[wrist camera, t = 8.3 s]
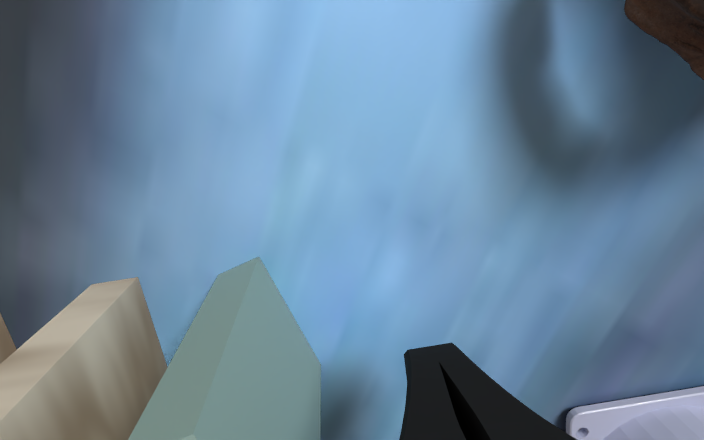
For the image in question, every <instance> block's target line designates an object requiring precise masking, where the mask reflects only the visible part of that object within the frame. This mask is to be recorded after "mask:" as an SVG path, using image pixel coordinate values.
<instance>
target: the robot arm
mask: <svg viewBox="0 0 704 440" xmlns="http://www.w3.org/2000/svg"><path fill="white" fill-rule="evenodd" d="M404 359H405V367H406V375H407V394H406V405H405V412H404V418H403V424H402V430H401V435H400V439H399V440H704V386H702V387H696V388H690V389H684V390H678V391H672V392H666V393H659V394H653V395H647V396H641V397H635V398H629V399H623V400H617V401H611V402H605V403H599V404H593V405H587V406H581V407H576V408H573V409H572V410H570V411H569V413H568V414H567V417H566V432H564V431H562V430H561V429H559V428H558V427H556V426H554V425H553V424H551V423H550V422H548V421H546V420H545V419H543V418H542V417H541V416H539V415H538V414H536V413H535V412H533V411H532V410H531V409H529V408H528V407H527V406H525V405H524V404H523V403H521V402H520V401H519V400H517V399H516V398H515V397H513V396H512V395H511V394H510V393H508V392H507V391H506V390H505V389H504V388H502V387H501V386H500V385H499V384H497V383H496V382H495V381H494V380H493V379H491V378H490V377H489V376H488V375H487V374H486V373H485V372H483V371H482V370H481V369H480V368H479V367H478V366H477V365H476V364H475V363H473V362H472V361H471V360H470V359H469V358H468V357H467V356H466V355H465V354H464V353H463V352H462V351H461V350H460V349H459V348H458V347H457V346H455V345H454V344H453V343H447V344H441V345H435V346H429V347H423V348H416V349H410V350H407V351H406V352H405V354H404ZM580 428H581V429H580Z"/></svg>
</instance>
